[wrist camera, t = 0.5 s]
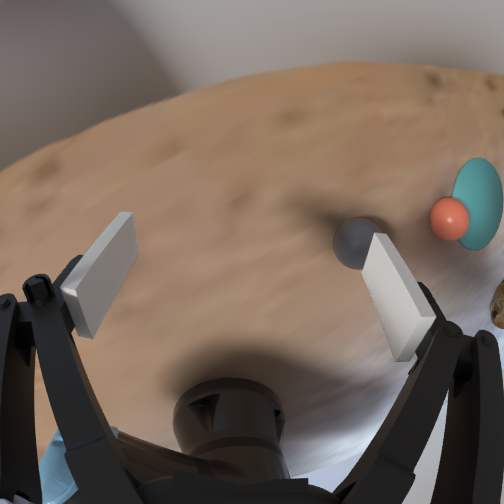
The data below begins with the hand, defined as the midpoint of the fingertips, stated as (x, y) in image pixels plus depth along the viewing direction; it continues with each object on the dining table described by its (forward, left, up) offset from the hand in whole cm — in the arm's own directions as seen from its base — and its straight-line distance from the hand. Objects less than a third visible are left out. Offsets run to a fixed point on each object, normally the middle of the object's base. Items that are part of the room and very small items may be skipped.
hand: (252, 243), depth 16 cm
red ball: (+9, -26, -13) cm, 30 cm away
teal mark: (+14, -34, -15) cm, 40 cm away
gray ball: (+1, -14, -13) cm, 19 cm away
